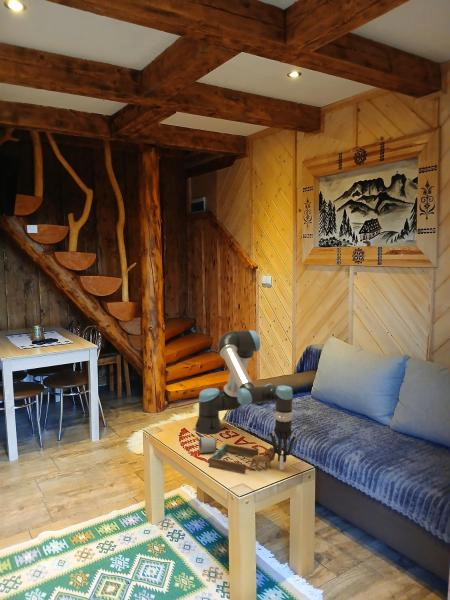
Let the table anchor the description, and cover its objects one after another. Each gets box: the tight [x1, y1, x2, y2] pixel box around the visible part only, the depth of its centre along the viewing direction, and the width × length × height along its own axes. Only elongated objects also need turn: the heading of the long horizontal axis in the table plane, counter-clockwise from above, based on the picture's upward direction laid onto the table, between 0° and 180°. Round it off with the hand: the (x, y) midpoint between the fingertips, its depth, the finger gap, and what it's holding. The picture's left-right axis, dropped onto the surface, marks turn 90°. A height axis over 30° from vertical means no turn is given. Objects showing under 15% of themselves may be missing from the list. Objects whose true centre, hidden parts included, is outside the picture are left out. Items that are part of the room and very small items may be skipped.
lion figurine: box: [248, 447, 276, 472], centre depth 222 cm, size 15×5×9 cm, turn 121°
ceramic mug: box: [198, 436, 217, 454], centre depth 242 cm, size 11×8×8 cm
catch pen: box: [208, 443, 259, 474], centre depth 229 cm, size 20×18×4 cm
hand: (281, 468), depth 220 cm, fingers closed
